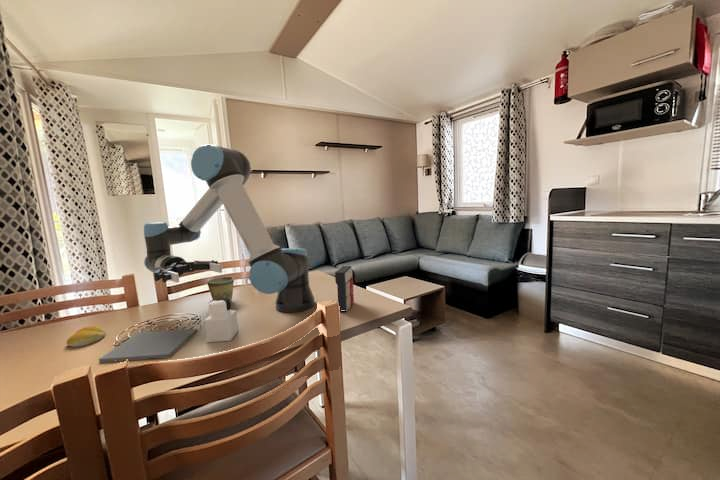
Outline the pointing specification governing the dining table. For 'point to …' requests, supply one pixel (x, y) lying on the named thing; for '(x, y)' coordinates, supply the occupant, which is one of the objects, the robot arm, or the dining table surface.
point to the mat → (150, 345)
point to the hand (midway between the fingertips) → (200, 273)
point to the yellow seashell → (86, 336)
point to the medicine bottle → (220, 321)
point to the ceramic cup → (221, 287)
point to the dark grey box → (344, 287)
